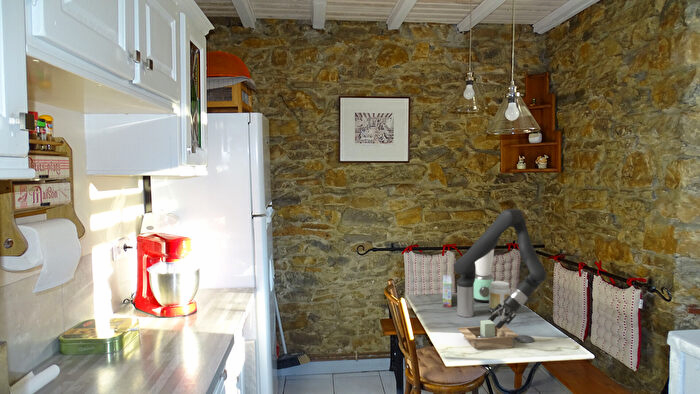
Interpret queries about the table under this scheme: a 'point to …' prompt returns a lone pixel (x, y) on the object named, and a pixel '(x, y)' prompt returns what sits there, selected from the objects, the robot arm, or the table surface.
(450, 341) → the table surface
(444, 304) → the snack box
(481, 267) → the mint green blender
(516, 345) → the table surface
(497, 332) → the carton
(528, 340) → the slate mat
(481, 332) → the box
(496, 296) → the supplement tub
